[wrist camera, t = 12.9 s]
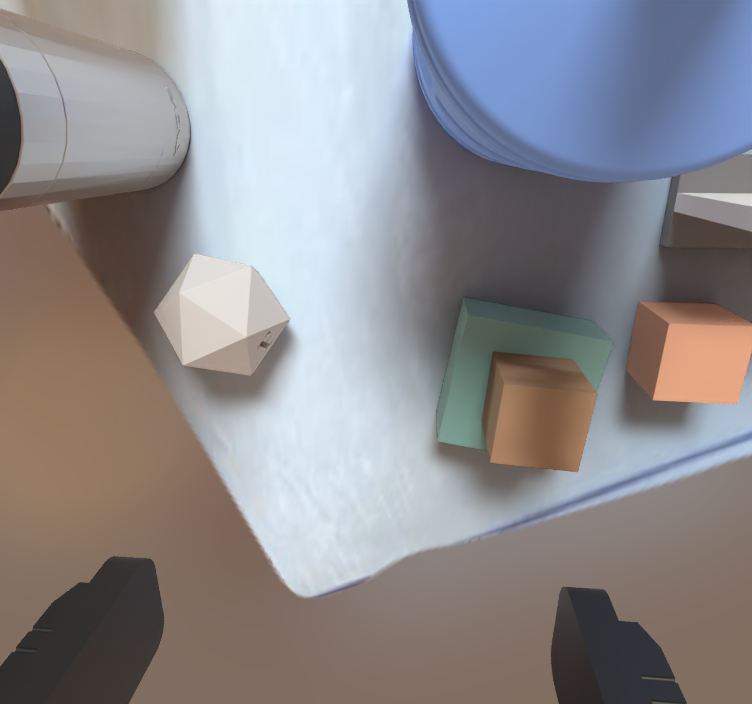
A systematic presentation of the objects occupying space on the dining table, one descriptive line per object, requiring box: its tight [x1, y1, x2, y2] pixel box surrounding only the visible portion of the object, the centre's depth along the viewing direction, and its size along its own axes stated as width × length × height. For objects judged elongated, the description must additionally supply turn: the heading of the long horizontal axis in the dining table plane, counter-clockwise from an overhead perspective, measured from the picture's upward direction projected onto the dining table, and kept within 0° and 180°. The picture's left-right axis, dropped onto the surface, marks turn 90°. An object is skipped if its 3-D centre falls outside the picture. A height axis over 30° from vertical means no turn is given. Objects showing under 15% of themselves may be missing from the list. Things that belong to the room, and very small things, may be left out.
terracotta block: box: [626, 301, 752, 404], centre depth 38 cm, size 6×6×6 cm
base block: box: [436, 297, 614, 451], centre depth 41 cm, size 10×10×5 cm
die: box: [154, 254, 290, 376], centre depth 39 cm, size 8×9×10 cm
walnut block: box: [481, 351, 597, 472], centre depth 36 cm, size 6×6×6 cm
